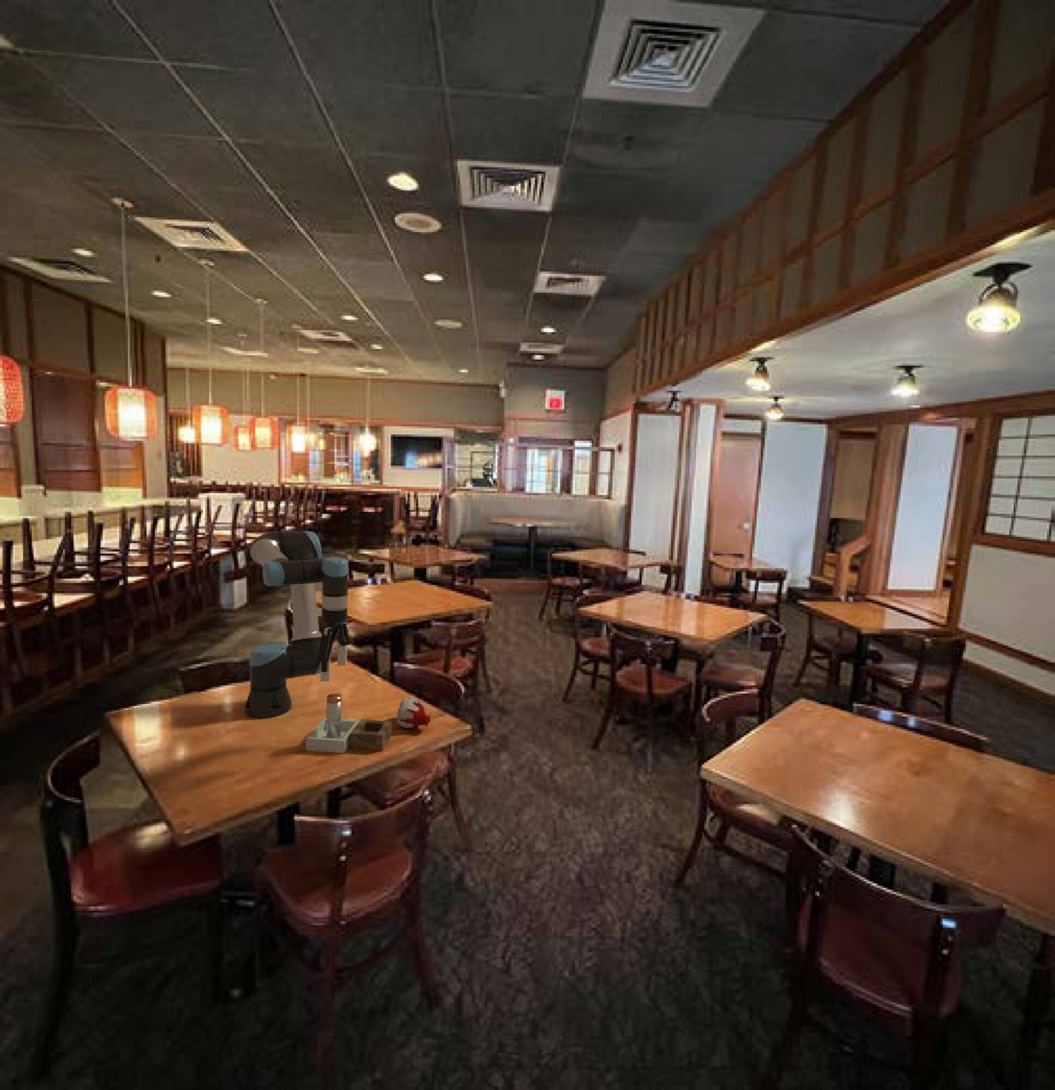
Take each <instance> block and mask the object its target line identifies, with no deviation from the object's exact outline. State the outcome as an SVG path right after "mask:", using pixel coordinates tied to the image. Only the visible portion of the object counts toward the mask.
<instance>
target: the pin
mask: <svg viewBox="0 0 1055 1090" xmlns="http://www.w3.org/2000/svg"><path fill="white" fill-rule="evenodd" d="M342 700H343V699H342V694H340V693H330V694H328V695H327V696H326V718H327V730H326V738H333V739H340V738H341V719H342Z"/></svg>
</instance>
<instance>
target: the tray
mask: <svg viewBox="0 0 1055 1090" xmlns="http://www.w3.org/2000/svg"><path fill="white" fill-rule="evenodd" d="M360 721H361V720H356V719H343V718H341V738H340V739H333V738H326V730H327V717H324V718H323V719H322V720H321V721H320V722H319V723H318V724H317V725H316V727H315V728H313V729H312V731H310V733H309V734H308V735H307V736H306V737H305V751H311V752H324V753H338V754H339V753H340V754H345V753H346V752H347V750H348V749H349V747H351V733H352V731H353V730H354V729H355V727H356V726H357V725H358V724H359V722H360Z"/></svg>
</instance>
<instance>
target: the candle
mask: <svg viewBox="0 0 1055 1090" xmlns="http://www.w3.org/2000/svg"><path fill="white" fill-rule="evenodd" d="M396 722H397V724H398V725H399V726H400V727H401V728H402V729H406V730H409V729H414V728H417V727H419V726H425V727H427V726H428V725H429V724H430V722H431V716H430V715H428V714H426V712H425V707H424V703H423V701H422V700H421V699H418V698H417V697H415V696H413V695H410V696H409V697H404V698H402V700H401V701H400V703H399V707H398V709H397V714H396Z"/></svg>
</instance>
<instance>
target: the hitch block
mask: <svg viewBox="0 0 1055 1090" xmlns="http://www.w3.org/2000/svg"><path fill="white" fill-rule="evenodd" d="M359 721H360V722H359V724H358V725H357V726H356V727H355V729H354V730H353V731H352V733H351V744H350V749H353V750H366V751H367V750H368V751H377V752H378V751H379V752H380V751H383V750H384V749H385V747H386V745H387V743H388V742H389V741H390V739H391V737H392V721H390V720H389V721H388V720H378V719H377V720H376V719H364V718H363V719H361V720H359Z"/></svg>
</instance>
